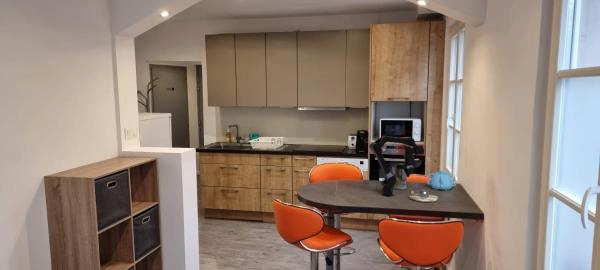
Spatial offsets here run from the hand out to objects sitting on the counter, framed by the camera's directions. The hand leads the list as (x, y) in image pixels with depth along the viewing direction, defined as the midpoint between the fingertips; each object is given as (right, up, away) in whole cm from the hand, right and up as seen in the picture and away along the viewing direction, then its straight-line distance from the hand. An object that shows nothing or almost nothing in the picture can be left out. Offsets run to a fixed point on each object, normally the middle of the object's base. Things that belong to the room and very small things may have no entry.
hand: (408, 177), depth 278 cm
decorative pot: (+29, -11, +17) cm, 35 cm away
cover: (+7, -12, -13) cm, 19 cm away
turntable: (+7, -13, -12) cm, 19 cm away
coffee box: (-1, -10, +20) cm, 22 cm away
